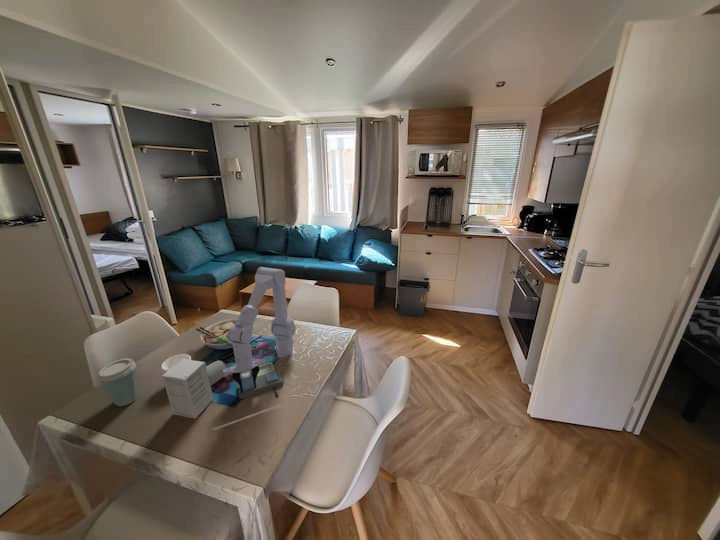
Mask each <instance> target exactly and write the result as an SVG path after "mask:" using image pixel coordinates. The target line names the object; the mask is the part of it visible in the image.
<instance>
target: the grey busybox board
mask: <svg viewBox="0 0 720 540" xmlns="http://www.w3.org/2000/svg"><path fill="white" fill-rule="evenodd" d="M236 383H237V382H236ZM283 385H284V380H283V377H282V374H281V372H280V370H279V369H278V370H275V371H274V372H271V373H267V374H264V375H261V376H258V377H257V378H256V384H255V387H256V388H255V387H254V388H255V389H252V390H249V391H246V392H243V391H241V390H242V389H241V388H240V386H239V384H238V383H237V390H238V396H239V400H242V399H244V398H247V397H250V396H254V395H257V394H259V393H262V392H266V391H269V390H271V389H273V392H274V396H275V398H276V399H277V398H279V394H278V389H277V388H278V387H280V386H283Z"/></svg>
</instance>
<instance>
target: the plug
mask: <svg viewBox="0 0 720 540" xmlns="http://www.w3.org/2000/svg"><path fill="white" fill-rule="evenodd" d="M240 378H241V381H242V387H243V388H242V393H243V392H246V391H249V390H252V389H255V384H254V382H253V376H252V370H249V372H248V373H243V372H240Z"/></svg>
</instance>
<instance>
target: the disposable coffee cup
mask: <svg viewBox="0 0 720 540" xmlns="http://www.w3.org/2000/svg"><path fill="white" fill-rule="evenodd" d="M136 368H137V364H136V362H135V360H133V359H132V358H129V357H126V358H121V359H117V360H115V361H113V362H110V363H108V364H107V365H105V366H103V367H102V368H101V369H100V370H99V372H98V373H97V374H96V375H97V381H99V383H100V384H101V386H102V387H103V389H104V391H105V392H106V393H107V394H108V396H109V397H110V399H111V400H112V402H113V403H114V405H115V406H117V407H124V406H127V405H129V404H132V403H133V402H134V401H135V400H136V399H137V398H138V395H139V390H138V382H137V380H138V379H137V371H136V370H137V369H136Z"/></svg>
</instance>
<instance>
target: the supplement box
mask: <svg viewBox="0 0 720 540" xmlns="http://www.w3.org/2000/svg"><path fill="white" fill-rule="evenodd" d="M206 366H207V365H206V361H199V360H193V359H191V360H187V359H183V360H181V361H180V362H179V363H177V364H176V365H175V366H174V367H172V368H171V369H170V370H168V371H167V372H166V373H163V374H162V375H161V377H162V382H163V384H164V388H165V390H166V391H165V392H166V393H167V397H168V401H169V405H170V407H171V411H172V414H173V415H175V416H180V417H184V418H190V419H197V418H198V417H199V415H201V413H202V412H203V411H204V410H205V409H206V408H207V407H208V406H209V405H210V403H212V402H213V399H214V396H213V391H212V385H211V386H210V382H209V377H208V373H207V369H206Z"/></svg>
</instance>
